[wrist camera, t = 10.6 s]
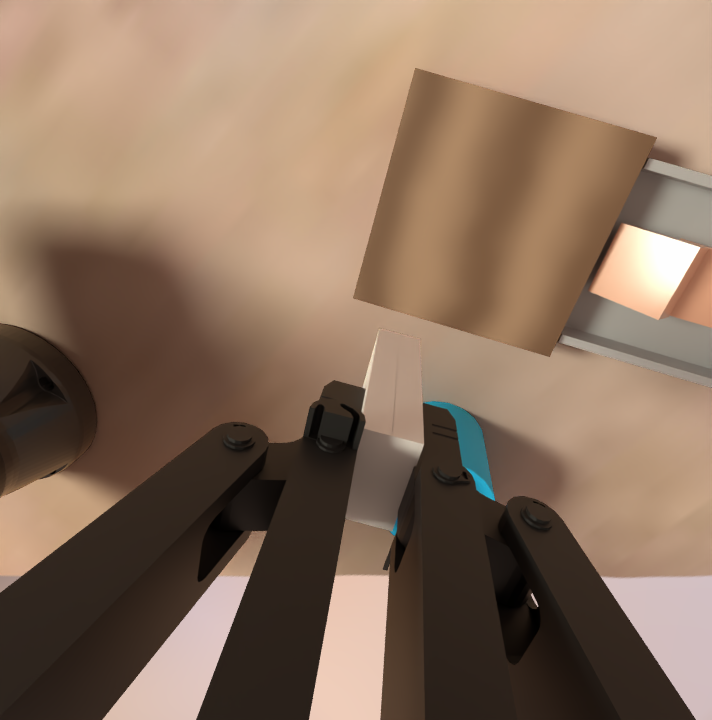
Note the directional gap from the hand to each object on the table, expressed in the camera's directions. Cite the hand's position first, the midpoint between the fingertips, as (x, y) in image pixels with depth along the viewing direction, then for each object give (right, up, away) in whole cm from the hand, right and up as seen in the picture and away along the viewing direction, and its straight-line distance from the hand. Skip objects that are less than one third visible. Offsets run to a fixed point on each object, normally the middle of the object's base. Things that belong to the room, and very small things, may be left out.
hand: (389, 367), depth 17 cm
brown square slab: (+8, +10, +16) cm, 20 cm away
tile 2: (+18, +6, +14) cm, 23 cm away
